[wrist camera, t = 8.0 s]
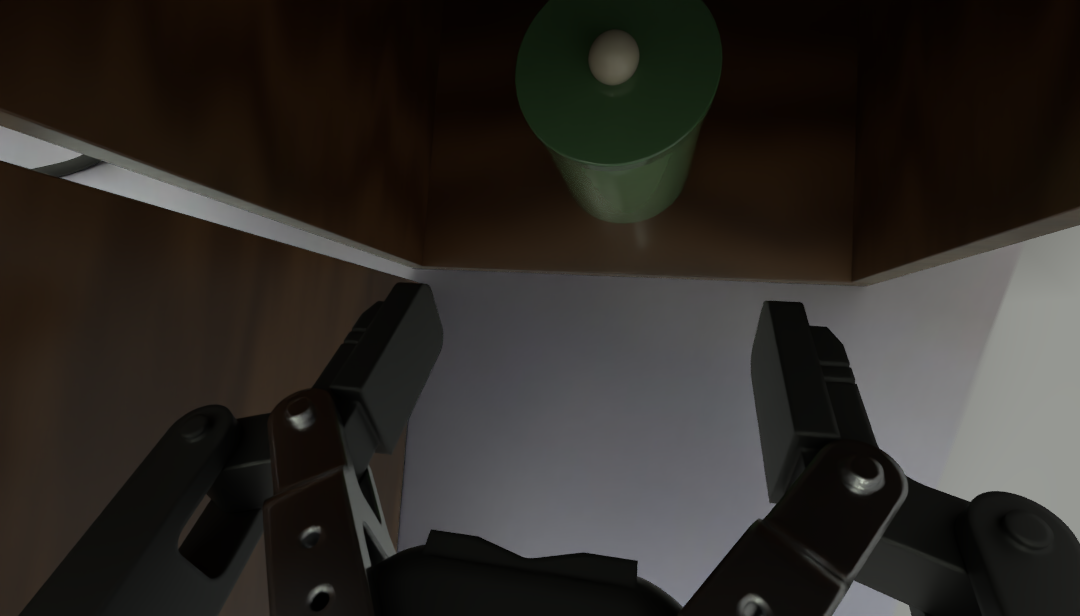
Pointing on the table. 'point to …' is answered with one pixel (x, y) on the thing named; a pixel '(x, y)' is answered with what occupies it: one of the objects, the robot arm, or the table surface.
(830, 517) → the robot arm
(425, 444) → the table surface
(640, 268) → the cupboard
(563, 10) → the pot
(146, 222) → the cupboard door
